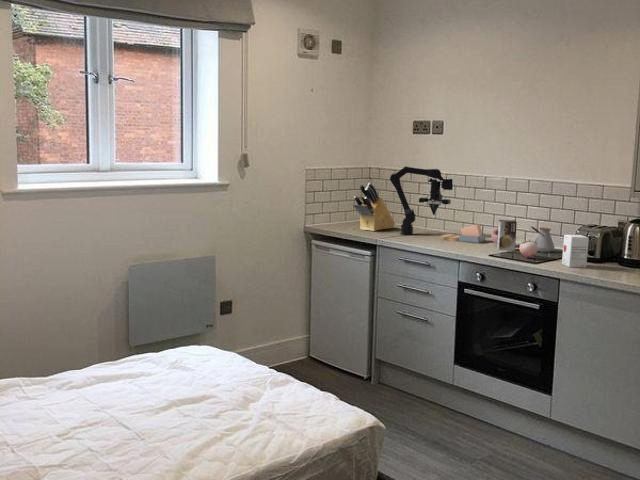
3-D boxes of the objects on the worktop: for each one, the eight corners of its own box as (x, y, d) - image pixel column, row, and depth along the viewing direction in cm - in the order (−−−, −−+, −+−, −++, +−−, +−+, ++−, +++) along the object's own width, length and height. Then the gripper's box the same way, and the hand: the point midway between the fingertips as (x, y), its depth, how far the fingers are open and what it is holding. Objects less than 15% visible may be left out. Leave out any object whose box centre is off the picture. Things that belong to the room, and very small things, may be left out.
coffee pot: (538, 249, 402) (540, 222, 400) (557, 252, 394) (560, 225, 392) (519, 252, 387) (521, 225, 385) (538, 255, 379) (540, 227, 377)
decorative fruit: (524, 259, 364) (526, 240, 363) (516, 257, 372) (517, 238, 371) (541, 259, 367) (542, 240, 366) (532, 256, 375) (533, 237, 373)
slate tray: (458, 241, 421) (459, 234, 421) (465, 238, 434) (465, 232, 433) (478, 243, 416) (479, 236, 415) (485, 240, 428) (485, 234, 428)
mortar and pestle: (488, 245, 408) (490, 225, 407) (493, 243, 419) (494, 223, 417) (510, 247, 403) (511, 227, 401) (514, 245, 414) (515, 225, 412)
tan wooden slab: (438, 239, 427) (438, 236, 427) (445, 236, 439) (445, 233, 439) (458, 241, 422) (458, 238, 421) (464, 238, 434) (465, 235, 434)
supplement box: (561, 263, 356) (563, 234, 354) (578, 264, 357) (581, 234, 355) (568, 267, 347) (571, 236, 345) (586, 267, 348) (589, 237, 346)
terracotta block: (460, 228, 424) (476, 224, 419) (463, 227, 430) (479, 223, 425) (463, 240, 424) (479, 236, 419) (466, 238, 430) (482, 234, 425)
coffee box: (513, 248, 401) (515, 220, 398) (515, 250, 394) (517, 221, 392) (496, 247, 401) (498, 219, 399) (498, 249, 395) (500, 220, 393)
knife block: (350, 231, 451) (352, 182, 446) (380, 226, 479) (382, 180, 474) (365, 233, 444) (368, 183, 440) (395, 228, 472) (397, 181, 468)
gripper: (454, 189, 440) (452, 215, 442) (425, 187, 449) (423, 212, 451) (448, 190, 430) (447, 216, 433) (419, 188, 439) (417, 214, 441)
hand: (433, 214), depth 440 cm, fingers closed
